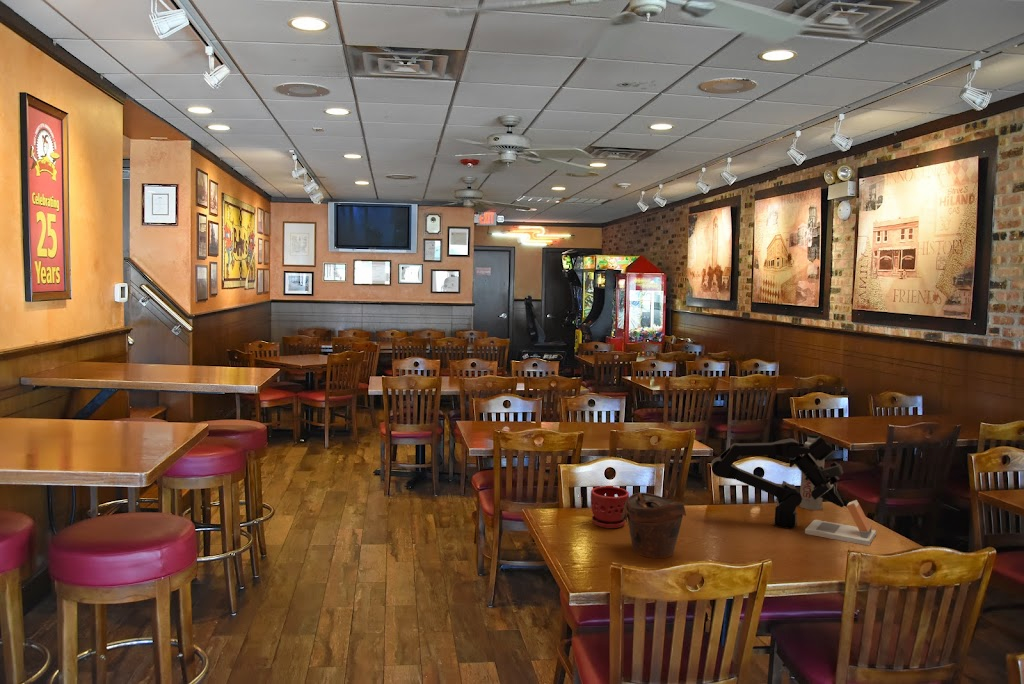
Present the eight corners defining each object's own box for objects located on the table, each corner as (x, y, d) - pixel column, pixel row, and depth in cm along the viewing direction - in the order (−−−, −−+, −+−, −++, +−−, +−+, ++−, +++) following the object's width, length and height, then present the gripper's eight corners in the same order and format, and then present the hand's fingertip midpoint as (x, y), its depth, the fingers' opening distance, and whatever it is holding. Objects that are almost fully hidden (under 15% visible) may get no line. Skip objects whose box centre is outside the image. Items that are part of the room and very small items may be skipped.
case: (627, 537, 258) (629, 484, 256) (688, 546, 251) (691, 492, 249) (613, 555, 241) (615, 499, 240) (679, 566, 234) (681, 507, 232)
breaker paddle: (862, 536, 260) (846, 506, 262) (865, 531, 266) (849, 501, 268) (869, 534, 259) (853, 503, 261) (872, 529, 264) (857, 499, 266)
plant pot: (582, 523, 272) (583, 489, 271) (607, 516, 281) (608, 483, 280) (610, 533, 263) (611, 498, 262) (635, 525, 271) (636, 491, 270)
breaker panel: (804, 533, 267) (805, 523, 266) (814, 523, 278) (814, 513, 278) (868, 545, 256) (869, 535, 255) (875, 534, 267) (876, 524, 267)
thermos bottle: (810, 511, 294) (814, 437, 292) (795, 505, 301) (798, 433, 299) (826, 508, 297) (830, 435, 295) (810, 503, 304) (814, 432, 302)
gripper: (823, 460, 260) (857, 498, 255) (834, 451, 276) (866, 486, 270) (797, 480, 265) (830, 518, 260) (809, 469, 280) (841, 505, 275)
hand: (843, 506), depth 266 cm, fingers closed
